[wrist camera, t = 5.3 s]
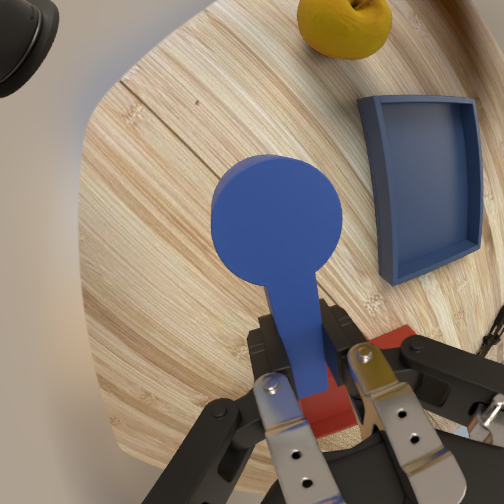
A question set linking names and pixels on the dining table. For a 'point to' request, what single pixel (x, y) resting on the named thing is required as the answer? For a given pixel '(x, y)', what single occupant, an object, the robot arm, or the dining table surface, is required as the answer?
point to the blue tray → (423, 180)
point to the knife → (493, 340)
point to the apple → (344, 26)
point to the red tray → (342, 395)
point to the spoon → (281, 248)
